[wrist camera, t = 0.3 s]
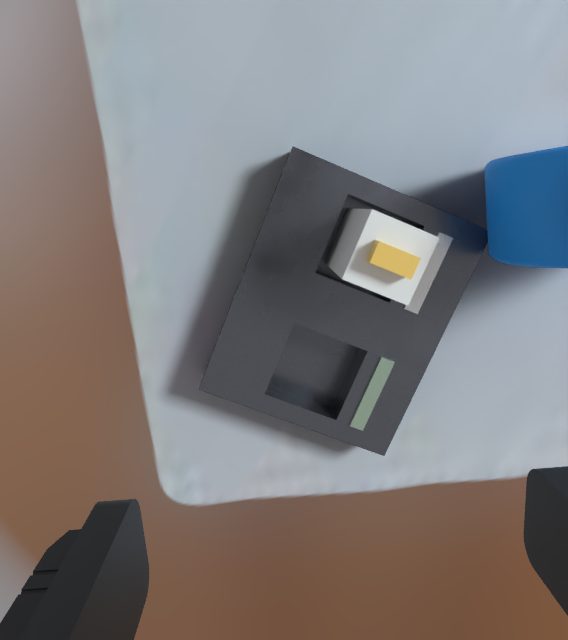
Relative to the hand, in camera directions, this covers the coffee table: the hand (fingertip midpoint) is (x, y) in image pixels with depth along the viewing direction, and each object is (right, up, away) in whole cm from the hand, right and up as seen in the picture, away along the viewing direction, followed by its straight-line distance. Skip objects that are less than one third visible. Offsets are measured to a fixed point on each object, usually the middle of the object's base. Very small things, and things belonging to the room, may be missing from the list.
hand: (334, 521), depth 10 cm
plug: (+4, +9, +24) cm, 26 cm away
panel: (+3, +5, +26) cm, 26 cm away
